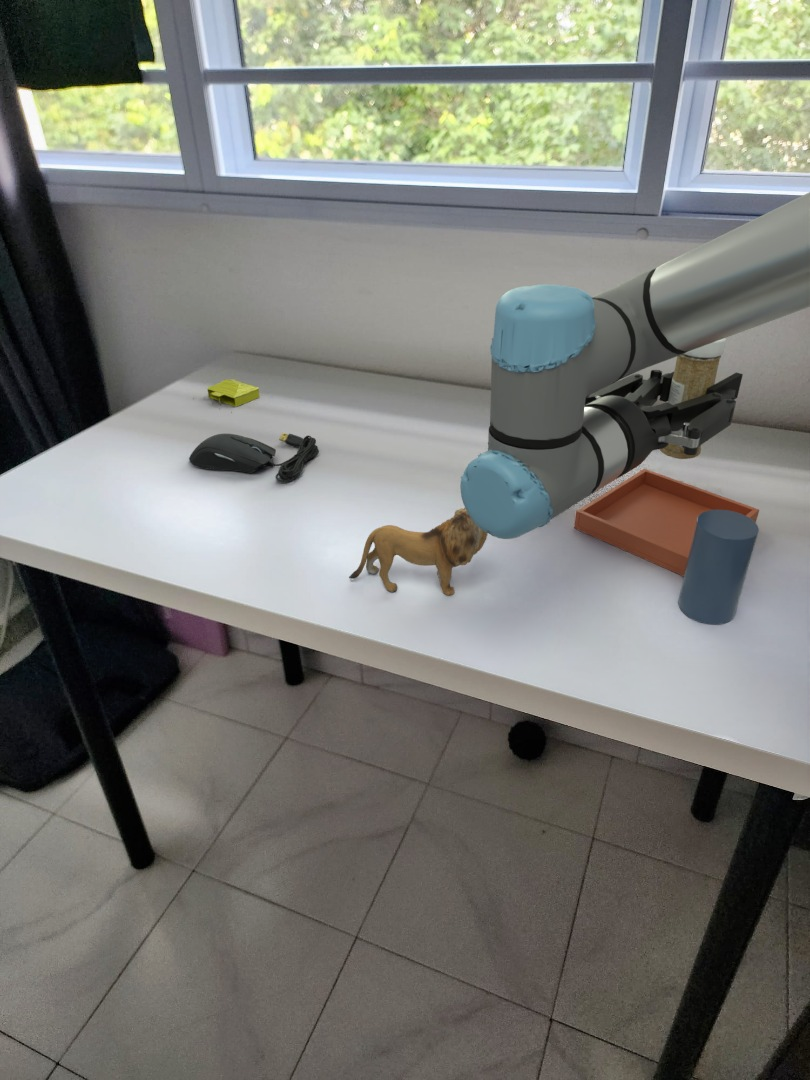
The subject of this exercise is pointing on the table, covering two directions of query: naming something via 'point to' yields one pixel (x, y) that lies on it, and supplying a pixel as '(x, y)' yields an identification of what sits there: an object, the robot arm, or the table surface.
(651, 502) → the tray
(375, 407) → the table surface
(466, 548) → the lion figurine
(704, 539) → the blue can
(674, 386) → the spice jar
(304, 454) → the computer mouse
